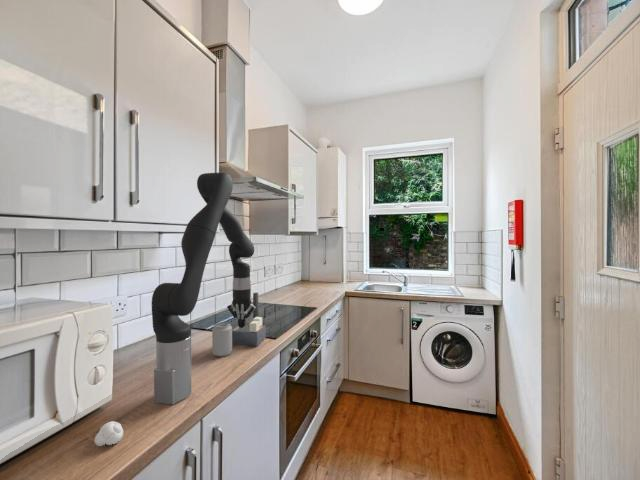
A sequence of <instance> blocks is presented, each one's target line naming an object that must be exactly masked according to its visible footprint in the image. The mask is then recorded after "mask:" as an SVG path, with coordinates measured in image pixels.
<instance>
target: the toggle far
mask: <svg viewBox="0 0 640 480" xmlns="http://www.w3.org/2000/svg"><path fill="white" fill-rule="evenodd" d="M252 321H259V327H260V326H262V325H263V317H262V316H258V317H255V318H254V319H253V318H252Z"/></svg>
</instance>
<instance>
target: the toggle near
mask: <svg viewBox="0 0 640 480" xmlns="http://www.w3.org/2000/svg"><path fill="white" fill-rule="evenodd" d="M249 324H250V331H251V332H257V331H258V330H259V321H253V320H252V321H251V322H249Z"/></svg>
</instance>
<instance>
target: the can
mask: <svg viewBox="0 0 640 480" xmlns="http://www.w3.org/2000/svg"><path fill="white" fill-rule="evenodd" d="M232 330H233V326H232V325H231V323H230V322H227V321H222V322H216V323H215V324H214V325H213V327H212V329H211V331H212V332H211V333H212V338H211V339H212V341H211V342H212V354H213V356H215V357H218V358H223V357H227V356H229V355H230V354H231V353H232V352H233V345H232Z"/></svg>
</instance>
